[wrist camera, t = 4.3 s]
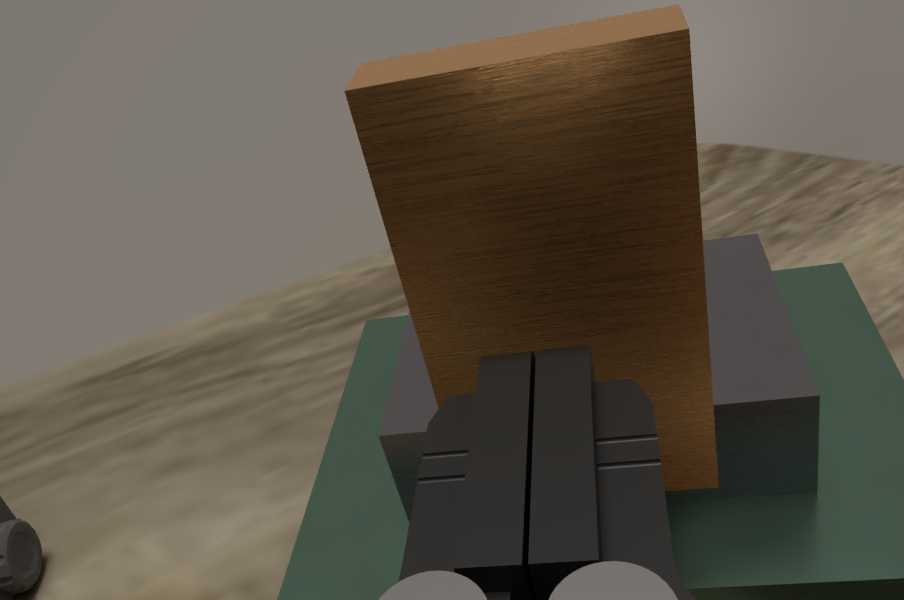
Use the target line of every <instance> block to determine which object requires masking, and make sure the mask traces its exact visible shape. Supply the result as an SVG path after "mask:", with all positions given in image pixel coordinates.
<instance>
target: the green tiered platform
mask: <svg viewBox="0 0 904 600" xmlns="http://www.w3.org/2000/svg"><path fill="white" fill-rule="evenodd" d="M703 251H704V267H705V282H706V298H707V313H708V329H709V344H710V360H711V375H712V391H713V406H714V421H715V437H716V452H717V468H718V483H719V487H718V488H704V489H691V490H677V491H665V498H666V506H667V513H668V521H669V528H670V535H671V543H672V550H673V558H674V563H675V567H676V570H677V573H678V575H679V577H680V580H681V581H682V583H683V584H684V586H685V587H686V589H687V590H688V591H689V592H690V593H691V594H692V596H693V597H694V598H695V599H696V600H904V380H903V378H902V376H901V374H900V372H899V370H898V368H897V366H896V364H895V362H894V361H893V359H892V357H891V355H890V353H889V351H888V349H887V347H886V345H885V343H884V341H883V339H882V338H881V336H880V334H879V332H878V330H877V328H876V326H875V324H874V322H873V320H872V318H871V316H870V315H869V313H868V311H867V309H866V307H865V305H864V303H863V301H862V299H861V297H860V295H859V294H858V292H857V290H856V288H855V286H854V284H853V282H852V280H851V278H850V276H849V274H848V272H847V271H846V269H845V267H844V265H843V263H835V264H827V265H819V266H810V267H802V268H794V269H786V270H777V271H772V270H771V268H770V265H769V262H768V260H767V257H766V255H765V252H764V250H763V247H762V244H761V242H760V239H759V237H758V234H752V235H744V236H736V237H729V238H721V239H713V240H706V241H703ZM438 409H439V408H438V405H437V401H436V398H435V395H434V391H433V388H432V385H431V381H430V378H429V374H428V371H427V368H426V364H425V361H424V358H423V354H422V351H421V347H420V344H419V341H418V337H417V334H416V331H415V327H414V324H413V320H412V317H411V314H410V312H409V315H406V316H398V317H390V318H381V319H373V320H366V323H365V326H364V329H363V333H362V336H361V339H360V342H359V345H358V348H357V351H356V355H355V358H354V361H353V364H352V367H351V370H350V373H349V377H348V380H347V383H346V386H345V389H344V392H343V395H342V399H341V402H340V405H339V408H338V411H337V414H336V417H335V420H334V424H333V427H332V430H331V433H330V436H329V439H328V442H327V446H326V449H325V452H324V455H323V458H322V461H321V464H320V468H319V471H318V474H317V477H316V480H315V483H314V486H313V489H312V493H311V496H310V499H309V502H308V505H307V508H306V511H305V515H304V518H303V521H302V524H301V527H300V530H299V533H298V537H297V540H296V543H295V546H294V549H293V552H292V555H291V559H290V562H289V565H288V568H287V571H286V574H285V577H284V580H283V584H282V587H281V590H280V593H279V596H278V599H277V600H379V598H380V597H381V596H382V595H383V594H384V593H385V592H386V591H387V590H388V589H389V588H391V587H392V586H394V585H395V584H396V583H398V580H399V576H400V572H401V567H402V561H403V556H404V550H405V545H406V540H407V534H408V529H409V523H410V518H411V513H412V507H413V502H414V496H415V491H416V486H417V484H418V475H419V469H420V464H421V459H423V454H422V453H423V448H424V442H425V437H426V432H427V426H428V423H429V422H430V420H431V419H432V418H433V416H434V415H435V413H436V412H437V410H438Z"/></svg>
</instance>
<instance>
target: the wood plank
mask: <svg viewBox="0 0 904 600" xmlns="http://www.w3.org/2000/svg"><path fill="white" fill-rule="evenodd" d="M345 94H346V97H347V101H348V105H349V108H350V111H351V115H352V118H353V121H354V124H355V128H356V132H357V135H358V138H359V142H360V145H361V148H362V152H363V155H364V158H365V162H366V165H367V169H368V172H369V175H370V179H371V182H372V185H373V189H374V192H375V196H376V199H377V202H378V206H379V209H380V212H381V216H382V219H383V223H384V226H385V229H386V233H387V236H388V239H389V243H390V246H391V250H392V253H393V256H394V260H395V263H396V266H397V270H398V273H399V277H400V280H401V283H402V287H403V290H404V293H405V297H406V300H407V304H408V307H409V310H410V314H411V317H412V320H413V324H414V327H415V331H416V334H417V337H418V341H419V344H420V347H421V351H422V354H423V358H424V361H425V364H426V368H427V371H428V374H429V378H430V381H431V385H432V388H433V391H434V395H435V398H436V401H437V405H438V408H440V406H441V405H442V403H443V402H444V401H445V399H446V398H447V397H450V396H460V395H470V394H475V392H476V384H477V376H478V368H479V361H480V358H481V357H482V356H491V355H500V354H510V353H519V352H528V351H533V352H534V353H535V356H536V352H537V350H545V349H554V348H564V347H573V346H583V345H590V347H591V352H592V358H593V364H594V370H595V377H596V382H601V381H611V380H622V379H632V378H633V379H634V380H635V382H636V383H637V384H638V385H639V387H640V388H641V389H642V390H643V392H644V393H645V394H646V395H647V397H648V398H649V399H650V401H651V402H652V403H653V410H654V417H655V424H656V432H657V440H658V447H659V454H660V462H661V469H662V476H663V484H664V491H677V490H691V489H704V488H718V487H719V483H718V468H717V452H716V437H715V421H714V406H713V391H712V375H711V360H710V344H709V329H708V313H707V298H706V282H705V267H704V251H703V236H702V221H701V205H700V190H699V174H698V159H697V143H696V128H695V113H694V98H693V82H692V66H691V51H690V35H689V27H688V25H687V23H686V20H685V18H684V16H683V13H682V11H681V8H680V6H679V5H674V6H668V7H663V8H657V9H652V10H646V11H641V12H635V13H631V14H625V15H620V16H614V17H609V18H603V19H598V20H593V21H587V22H582V23H576V24H571V25H566V26H560V27H555V28H550V29H544V30H539V31H534V32H528V33H523V34H518V35H512V36H507V37H502V38H496V39H491V40H485V41H480V42H475V43H470V44H464V45H459V46H454V47H448V48H443V49H438V50H432V51H426V52H422V53H416V54H410V55H405V56H400V57H394V58H389V59H384V60H378V61H373V62H368V63H362V64H360V65H359V66H358V68H357V70H356V72H355V73H354V75H353V77H352V79H351V80H350V82H349V84H348V85H347V87H346V89H345Z"/></svg>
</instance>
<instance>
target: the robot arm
mask: <svg viewBox="0 0 904 600" xmlns="http://www.w3.org/2000/svg"><path fill="white" fill-rule="evenodd" d="M422 454H423V459H421V464H420V469H419V475H418V484H417V486H416V491H415V496H414V502H413V507H412V513H411V518H410V523H409V529H408V534H407V540H406V545H405V550H404V556H403V561H402V567H401V572H400V576H399V580H398V583H396V584H395V585H394V586H392V587H391V588H389V589H388V590H387V591H386V592H385V593H384V594H383V595H382V596H381V597H380V598H379V600H696V599H695V598H694V597H693V596H692V594H691V593H690V592H689V591H688V590H687V589H686V587H685V586H684V584H683V583H682V581H681V580H680V577H679V575H678V573H677V570H676V567H675V563H674V558H673V550H672V543H671V535H670V528H669V521H668V513H667V506H666V498H665V491H664V484H663V476H662V469H661V462H660V454H659V447H658V440H657V432H656V424H655V417H654V410H653V403H652V402H651V401H650V399H649V398H648V397H647V395H646V394H645V393H644V392H643V390H642V389H641V388H640V387H639V385H638V384H637V383H636V382H635V380H634V379H633V378H632V379H622V380H611V381H601V382H596V377H595V370H594V364H593V358H592V352H591V347H590V345H583V346H573V347H564V348H554V349H545V350H537V352H536V356H535V353H534V352H533V351H528V352H519V353H510V354H500V355H491V356H482V357H481V358H480V361H479V368H478V376H477V384H476V392H475V394H470V395H460V396H450V397H447V398H446V399H445V401H444V402H443V403H442V405H441V406H440V408H439V409H438V410H437V412H436V413H435V415H434V416H433V418H432V419H431V420H430V422H429V423H428V426H427V432H426V437H425V442H424V448H423V453H422Z"/></svg>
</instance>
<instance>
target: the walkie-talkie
mask: <svg viewBox="0 0 904 600" xmlns="http://www.w3.org/2000/svg"><path fill="white" fill-rule="evenodd" d="M41 568H42V549H41V544H40V541H39V539H38V536H37V534H36V532H35V530H34V529H33V528H32V527H31V526H30V525H29V524H28V523H27V522H26V521H22V520H21V519H16V517H15V516H14V515H13V513H12V512H11V510H10V509H9V508H8V506H7V505H6V503H5V502H4V501H3V499H2V498H1V497H0V600H13V598H14V596H15V594H16V593H20V592H24V591H26V590H29V589H31V587H32V586H33V584H35V583H36V581H37V580H38V578H39V575H40V571H41Z"/></svg>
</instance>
